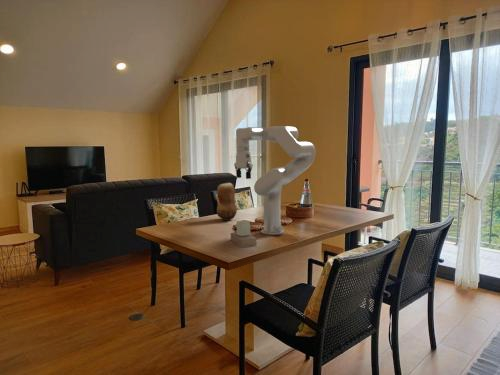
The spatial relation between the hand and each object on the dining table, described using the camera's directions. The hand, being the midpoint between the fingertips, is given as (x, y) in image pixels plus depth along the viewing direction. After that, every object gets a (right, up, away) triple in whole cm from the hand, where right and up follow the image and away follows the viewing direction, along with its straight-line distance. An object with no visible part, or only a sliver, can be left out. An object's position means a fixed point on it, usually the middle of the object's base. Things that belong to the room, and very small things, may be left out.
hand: (243, 178), depth 223 cm
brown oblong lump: (-11, -28, +28) cm, 41 cm away
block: (0, -30, -30) cm, 42 cm away
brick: (+1, -35, -29) cm, 46 cm away
